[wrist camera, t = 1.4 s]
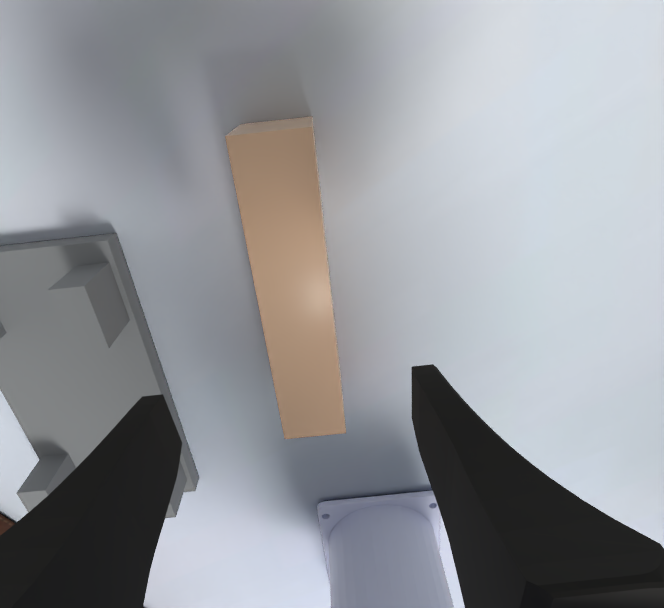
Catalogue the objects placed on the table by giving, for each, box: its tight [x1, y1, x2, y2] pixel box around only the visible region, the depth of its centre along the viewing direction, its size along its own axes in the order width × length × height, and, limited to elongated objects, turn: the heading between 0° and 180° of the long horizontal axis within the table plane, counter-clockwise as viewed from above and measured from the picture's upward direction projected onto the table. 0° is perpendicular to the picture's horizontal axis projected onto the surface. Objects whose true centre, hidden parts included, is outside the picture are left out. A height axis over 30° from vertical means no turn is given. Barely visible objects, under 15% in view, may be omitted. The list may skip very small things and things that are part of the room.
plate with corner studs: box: [0, 233, 199, 518], centre depth 23 cm, size 16×8×4 cm, turn 6°
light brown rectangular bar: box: [225, 116, 346, 439], centre depth 20 cm, size 14×3×4 cm, turn 6°
